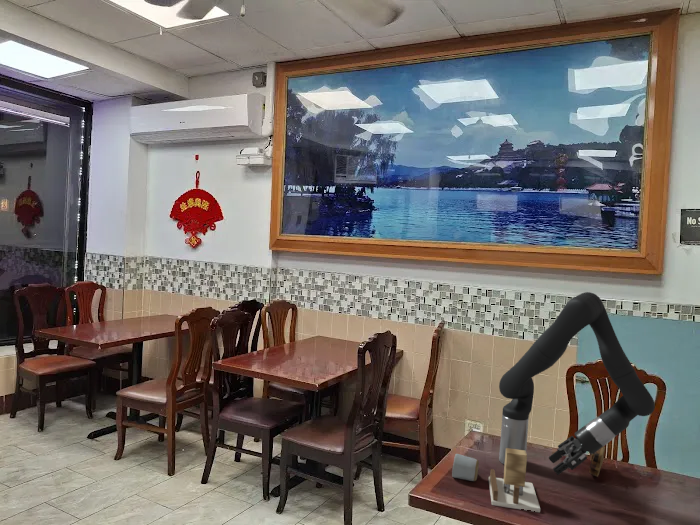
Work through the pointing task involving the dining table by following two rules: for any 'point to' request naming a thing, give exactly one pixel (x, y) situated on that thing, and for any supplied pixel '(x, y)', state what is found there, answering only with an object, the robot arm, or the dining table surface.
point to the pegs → (507, 489)
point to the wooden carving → (596, 461)
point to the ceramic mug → (465, 468)
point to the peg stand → (506, 500)
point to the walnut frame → (495, 489)
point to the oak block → (515, 467)
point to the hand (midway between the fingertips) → (552, 466)
